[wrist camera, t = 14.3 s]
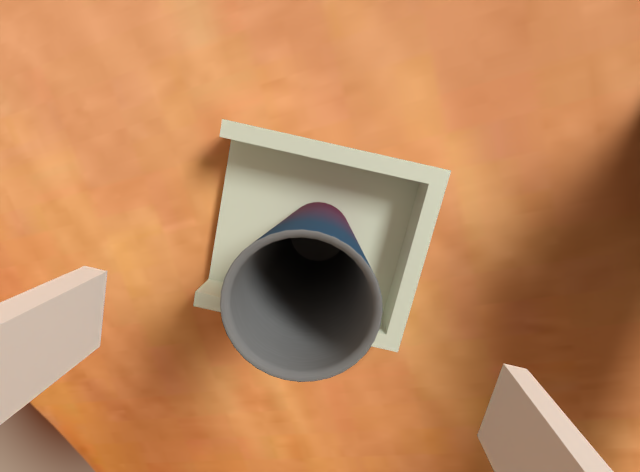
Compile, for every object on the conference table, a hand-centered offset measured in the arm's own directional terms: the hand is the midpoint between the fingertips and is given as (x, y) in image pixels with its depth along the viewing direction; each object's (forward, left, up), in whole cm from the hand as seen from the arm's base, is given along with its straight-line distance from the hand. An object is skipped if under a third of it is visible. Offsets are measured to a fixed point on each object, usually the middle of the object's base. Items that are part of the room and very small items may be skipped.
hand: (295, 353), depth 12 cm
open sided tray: (0, 0, -20) cm, 20 cm away
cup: (0, 0, -19) cm, 19 cm away
